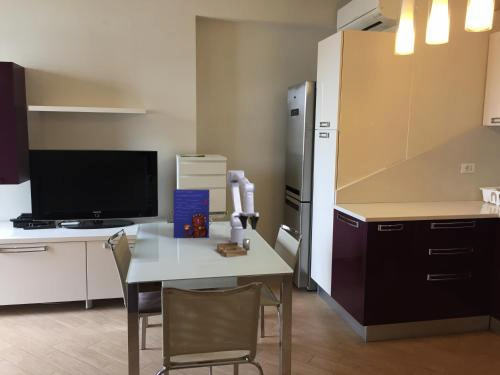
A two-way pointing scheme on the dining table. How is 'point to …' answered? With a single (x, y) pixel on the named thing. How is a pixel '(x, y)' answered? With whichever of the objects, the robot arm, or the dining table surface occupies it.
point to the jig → (231, 249)
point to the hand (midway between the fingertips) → (249, 229)
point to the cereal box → (191, 213)
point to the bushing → (246, 244)
